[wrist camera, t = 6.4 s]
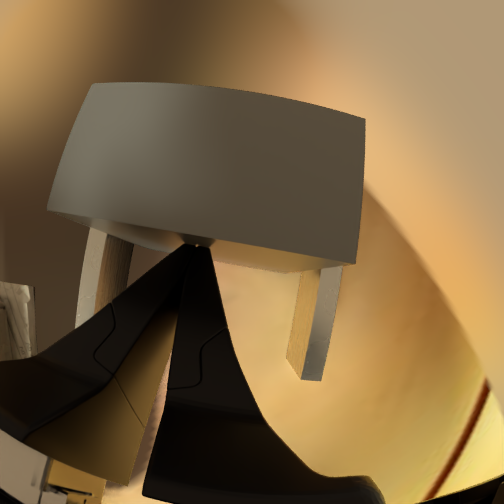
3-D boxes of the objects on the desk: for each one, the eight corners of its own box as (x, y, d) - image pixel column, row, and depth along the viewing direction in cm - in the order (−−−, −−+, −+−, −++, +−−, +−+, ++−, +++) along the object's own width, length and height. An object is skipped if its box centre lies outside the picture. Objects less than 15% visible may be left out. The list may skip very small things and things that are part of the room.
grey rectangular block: (285, 273, 17) (355, 263, 7) (147, 248, 16) (46, 209, 6) (296, 198, 17) (365, 107, 7) (163, 176, 17) (97, 73, 7)
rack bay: (304, 359, 16) (354, 416, 8) (106, 321, 16) (26, 346, 8) (330, 196, 17) (392, 140, 10) (138, 163, 17) (85, 94, 9)
